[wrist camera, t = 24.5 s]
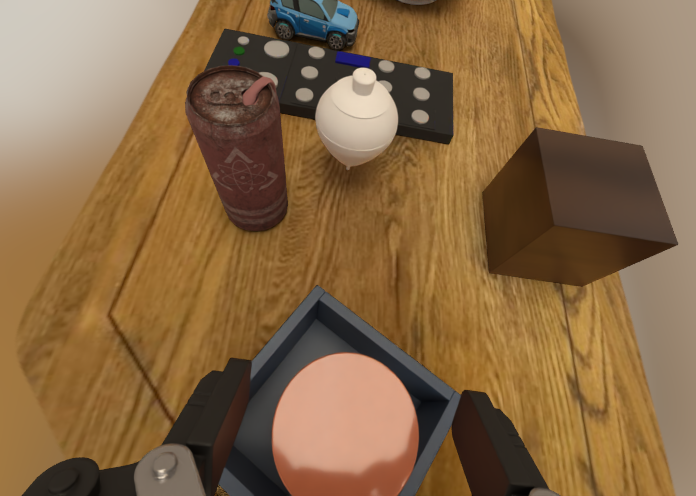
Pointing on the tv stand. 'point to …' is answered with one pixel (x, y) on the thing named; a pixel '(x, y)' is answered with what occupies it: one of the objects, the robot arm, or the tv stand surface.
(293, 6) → the toy car
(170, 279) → the tv stand surface
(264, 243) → the tv stand surface
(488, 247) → the stand
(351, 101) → the spinning top
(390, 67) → the remote control
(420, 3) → the bowl
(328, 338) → the tub
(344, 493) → the orange cylinder rod
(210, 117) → the can
